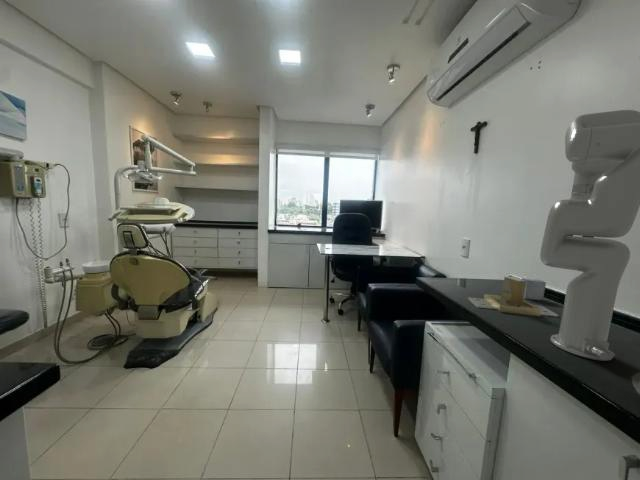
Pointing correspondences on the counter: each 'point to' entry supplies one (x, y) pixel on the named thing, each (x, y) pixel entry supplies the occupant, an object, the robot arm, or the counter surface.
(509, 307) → the wooden flat frame
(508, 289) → the skincare box
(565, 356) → the counter surface
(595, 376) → the counter surface
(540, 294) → the medicine box
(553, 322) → the counter surface
